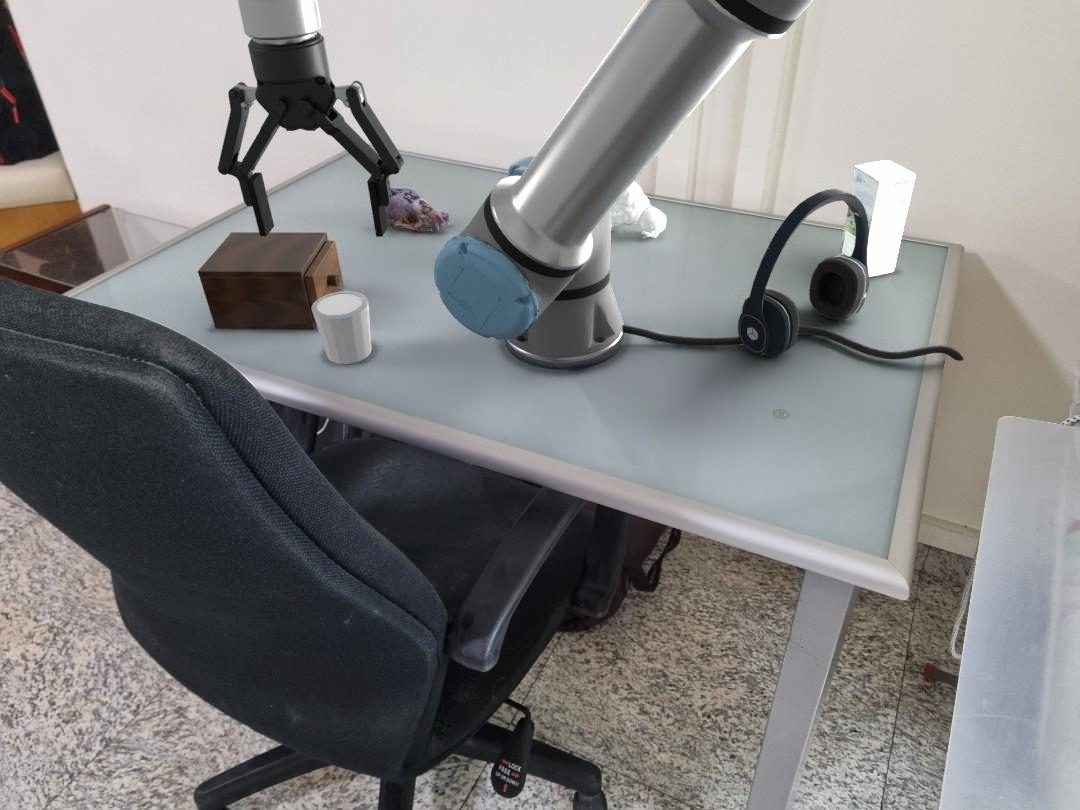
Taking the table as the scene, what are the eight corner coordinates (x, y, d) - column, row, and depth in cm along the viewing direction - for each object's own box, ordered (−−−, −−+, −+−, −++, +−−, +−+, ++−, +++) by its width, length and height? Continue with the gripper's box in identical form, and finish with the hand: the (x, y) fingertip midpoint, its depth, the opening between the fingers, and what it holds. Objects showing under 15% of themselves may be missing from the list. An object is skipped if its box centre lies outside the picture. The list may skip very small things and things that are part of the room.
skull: (460, 221, 136) (452, 187, 132) (430, 245, 132) (420, 210, 128) (407, 209, 142) (397, 176, 138) (376, 231, 138) (365, 198, 134)
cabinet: (337, 287, 120) (326, 232, 115) (313, 330, 111) (300, 271, 106) (246, 287, 122) (231, 232, 117) (215, 328, 112) (197, 271, 107)
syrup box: (895, 272, 118) (919, 172, 110) (859, 279, 117) (880, 179, 108) (870, 255, 123) (891, 158, 114) (835, 262, 121) (854, 164, 113)
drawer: (352, 284, 119) (343, 240, 115) (331, 322, 111) (321, 276, 107) (258, 283, 120) (247, 240, 116) (231, 321, 112) (218, 275, 108)
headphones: (827, 296, 113) (852, 165, 103) (871, 316, 109) (902, 180, 98) (725, 348, 104) (741, 209, 93) (769, 372, 99) (791, 229, 89)
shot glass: (365, 369, 103) (355, 320, 99) (313, 364, 104) (301, 315, 100) (384, 339, 109) (376, 291, 104) (334, 335, 110) (324, 288, 106)
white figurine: (616, 162, 132) (680, 186, 126) (611, 212, 137) (672, 237, 132) (591, 175, 128) (656, 200, 122) (587, 225, 134) (649, 252, 128)
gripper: (414, 24, 86) (436, 218, 99) (181, 28, 88) (232, 217, 101) (399, 42, 80) (424, 246, 93) (148, 46, 82) (207, 245, 95)
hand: (324, 231), depth 97 cm, fingers open, 13 cm apart
